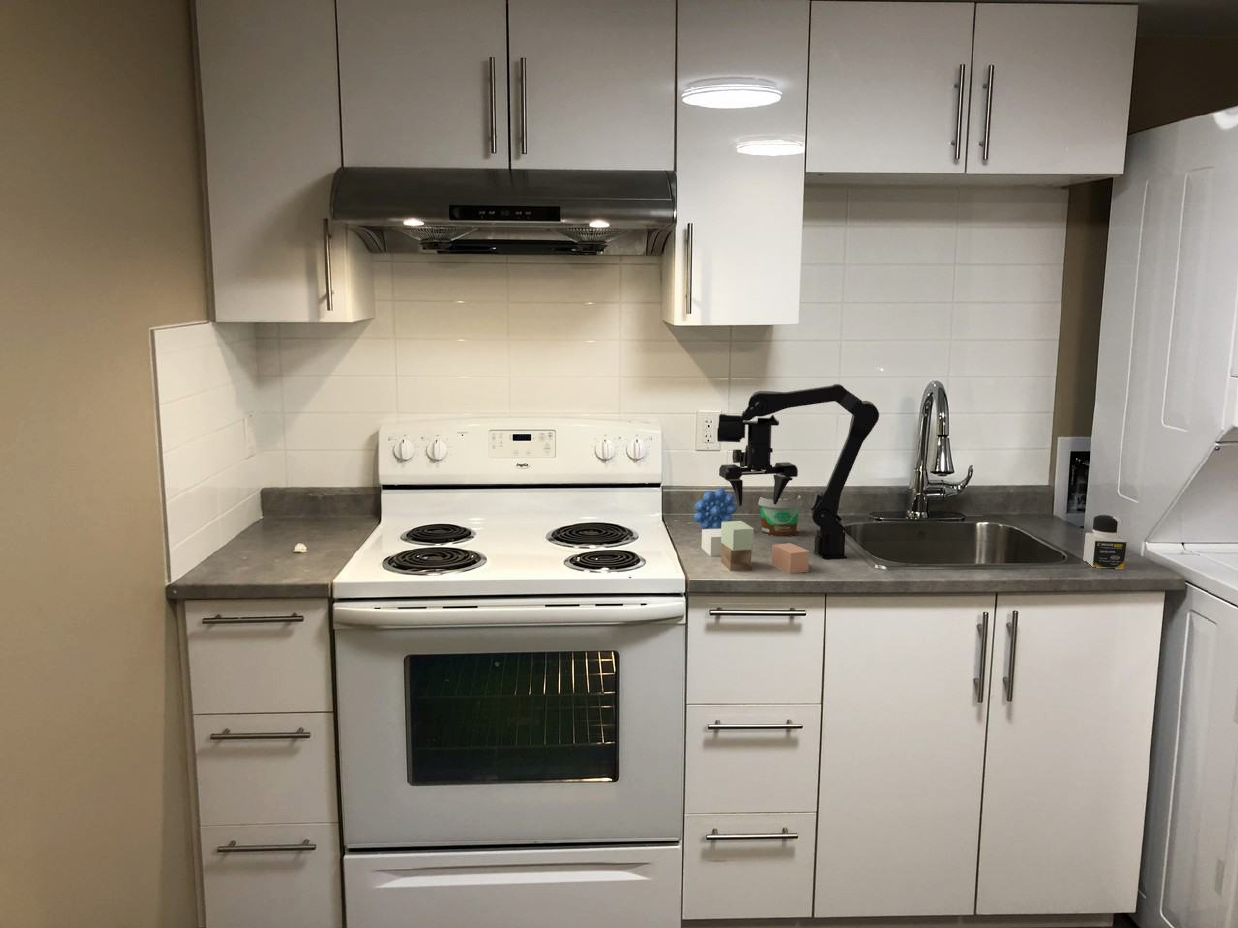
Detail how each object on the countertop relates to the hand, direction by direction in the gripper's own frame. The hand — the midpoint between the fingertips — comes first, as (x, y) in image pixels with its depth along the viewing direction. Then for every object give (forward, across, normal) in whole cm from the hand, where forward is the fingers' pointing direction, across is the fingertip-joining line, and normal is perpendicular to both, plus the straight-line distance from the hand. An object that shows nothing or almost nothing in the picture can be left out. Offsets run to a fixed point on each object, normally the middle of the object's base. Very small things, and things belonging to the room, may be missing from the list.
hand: (757, 504), depth 244 cm
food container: (+12, -13, -15) cm, 23 cm away
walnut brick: (+12, +9, +11) cm, 19 cm away
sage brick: (+7, +9, +11) cm, 16 cm away
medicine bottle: (+13, -78, +28) cm, 84 cm away
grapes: (+12, +3, -22) cm, 26 cm away
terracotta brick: (+12, -2, +16) cm, 20 cm away
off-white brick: (+12, +10, -2) cm, 16 cm away
